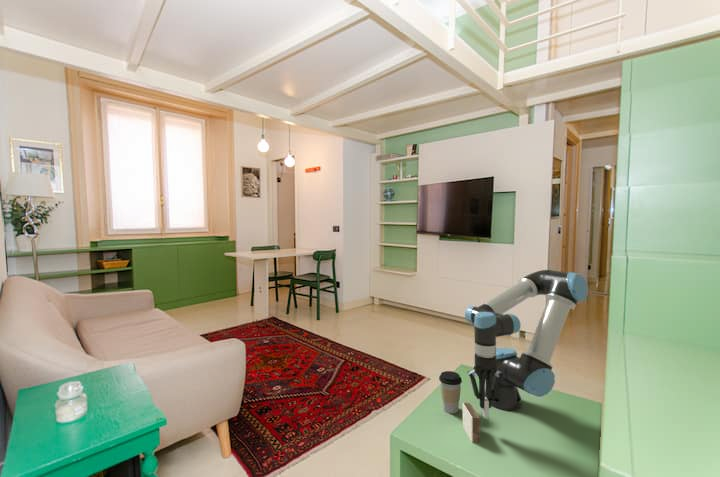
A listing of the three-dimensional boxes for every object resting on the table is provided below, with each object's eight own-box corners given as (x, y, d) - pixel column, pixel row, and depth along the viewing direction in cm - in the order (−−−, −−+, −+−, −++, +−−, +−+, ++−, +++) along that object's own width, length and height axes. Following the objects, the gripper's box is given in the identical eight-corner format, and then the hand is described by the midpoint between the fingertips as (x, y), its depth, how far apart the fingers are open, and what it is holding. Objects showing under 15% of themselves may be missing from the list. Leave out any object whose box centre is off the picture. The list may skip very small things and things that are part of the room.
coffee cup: (459, 418, 130) (459, 382, 130) (436, 412, 135) (436, 377, 134) (464, 407, 138) (463, 372, 138) (442, 401, 143) (442, 368, 143)
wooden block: (470, 425, 125) (470, 402, 125) (480, 442, 116) (479, 417, 115) (462, 425, 125) (462, 403, 125) (471, 442, 115) (471, 417, 115)
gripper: (497, 350, 124) (498, 410, 124) (464, 350, 123) (464, 410, 124) (507, 357, 116) (507, 421, 117) (471, 358, 116) (471, 422, 116)
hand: (485, 416), depth 120 cm, fingers closed
